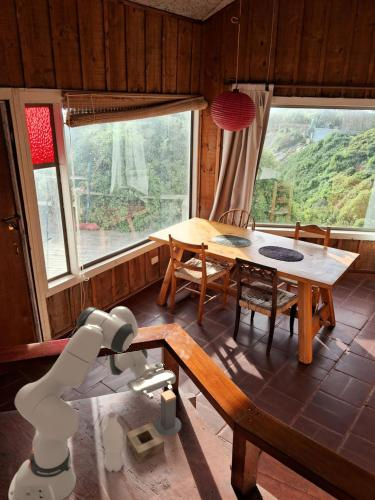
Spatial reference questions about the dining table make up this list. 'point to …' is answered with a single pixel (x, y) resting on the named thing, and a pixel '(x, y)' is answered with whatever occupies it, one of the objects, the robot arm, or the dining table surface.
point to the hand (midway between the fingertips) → (161, 393)
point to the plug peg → (168, 409)
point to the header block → (145, 442)
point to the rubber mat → (170, 431)
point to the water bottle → (113, 443)
